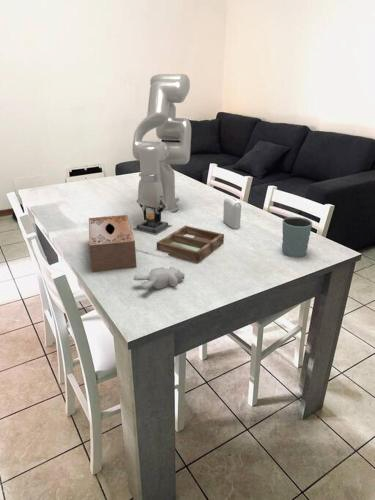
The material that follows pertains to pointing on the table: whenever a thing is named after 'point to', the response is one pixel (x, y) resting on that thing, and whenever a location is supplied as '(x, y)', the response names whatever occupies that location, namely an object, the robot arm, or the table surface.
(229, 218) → the photo printer
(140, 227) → the tester cradle
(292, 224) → the green tapered cup
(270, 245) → the table surface
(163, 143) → the robot arm
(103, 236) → the tissue box cover
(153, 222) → the cell
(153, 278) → the bunny figurine
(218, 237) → the wooden divided tray
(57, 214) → the table surface
